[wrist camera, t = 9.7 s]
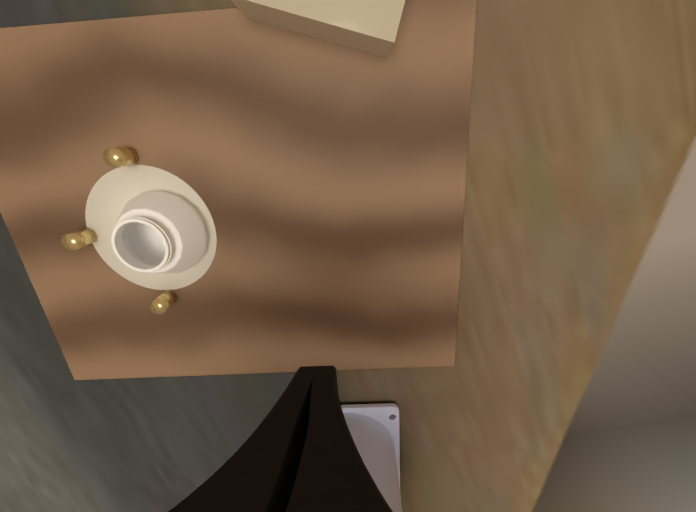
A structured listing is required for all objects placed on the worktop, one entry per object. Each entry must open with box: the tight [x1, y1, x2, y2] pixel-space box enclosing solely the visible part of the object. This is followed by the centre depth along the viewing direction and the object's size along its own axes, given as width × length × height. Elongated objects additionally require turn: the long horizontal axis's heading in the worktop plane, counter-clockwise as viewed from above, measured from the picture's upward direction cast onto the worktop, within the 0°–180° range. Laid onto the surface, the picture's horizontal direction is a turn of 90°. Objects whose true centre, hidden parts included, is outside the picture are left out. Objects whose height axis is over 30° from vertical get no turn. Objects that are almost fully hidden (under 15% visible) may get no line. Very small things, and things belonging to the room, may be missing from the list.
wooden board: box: [0, 0, 477, 380], centre depth 20 cm, size 22×28×2 cm
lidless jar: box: [111, 191, 208, 274], centre depth 19 cm, size 5×3×5 cm
